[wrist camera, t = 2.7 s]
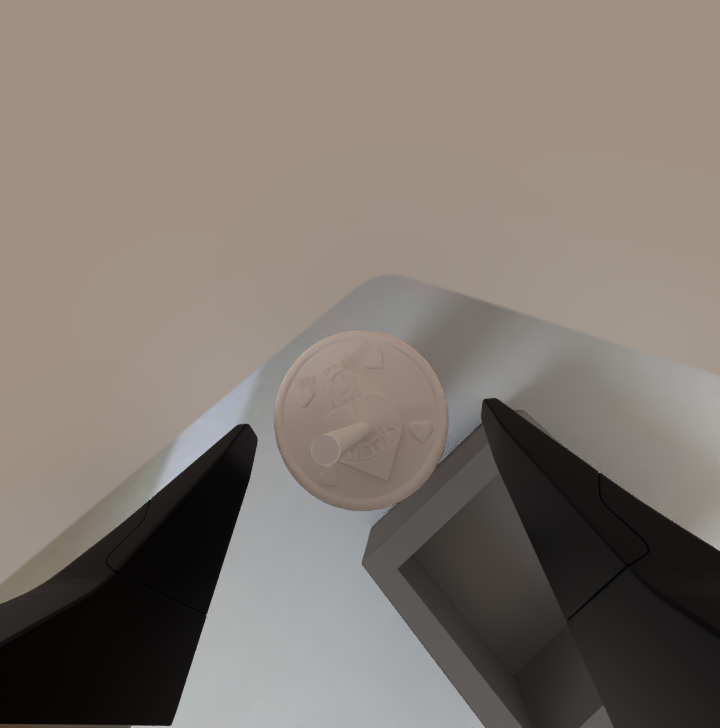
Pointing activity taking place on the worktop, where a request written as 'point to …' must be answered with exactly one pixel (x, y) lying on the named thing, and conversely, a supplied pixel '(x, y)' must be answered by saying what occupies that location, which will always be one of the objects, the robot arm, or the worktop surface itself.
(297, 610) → the worktop surface
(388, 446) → the smoothie
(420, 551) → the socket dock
